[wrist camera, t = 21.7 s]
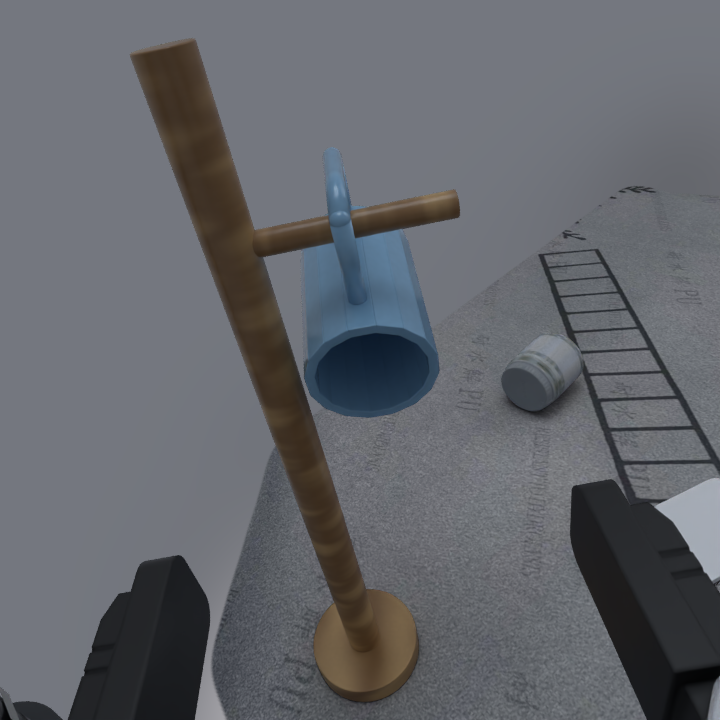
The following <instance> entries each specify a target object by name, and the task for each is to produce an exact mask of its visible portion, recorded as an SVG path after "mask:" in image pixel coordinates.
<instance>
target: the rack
mask: <svg viewBox="0 0 720 720" xmlns="http://www.w3.org/2000/svg"><path fill="white" fill-rule="evenodd" d="M130 57H131V60H132V63H133V65H134V68H135V71H136V73H137V76H138V79H139V82H140V84H141V87H142V89H143V92H144V95H145V98H146V100H147V103H148V105H149V108H150V111H151V113H152V116H153V119H154V122H155V124H156V127H157V129H158V132H159V135H160V138H161V140H162V143H163V145H164V148H165V151H166V154H167V156H168V159H169V162H170V164H171V167H172V170H173V172H174V175H175V178H176V180H177V183H178V186H179V188H180V191H181V193H182V196H183V199H184V201H185V204H186V207H187V210H188V212H189V215H190V218H191V220H192V223H193V226H194V228H195V231H196V233H197V236H198V239H199V242H200V244H201V247H202V250H203V253H204V255H205V258H206V261H207V263H208V266H209V268H210V271H211V274H212V277H213V279H214V282H215V285H216V287H217V290H218V292H219V295H220V298H221V301H222V303H223V306H224V309H225V311H226V314H227V317H228V319H229V322H230V325H231V327H232V330H233V333H234V335H235V338H236V340H237V343H238V346H239V348H240V351H241V354H242V357H243V359H244V362H245V364H246V367H247V370H248V373H249V375H250V378H251V381H252V383H253V386H254V389H255V391H256V394H257V397H258V399H259V402H260V405H261V407H262V410H263V413H264V416H265V418H266V421H267V424H268V426H269V429H270V432H271V434H272V437H273V440H274V442H275V445H276V448H277V450H278V453H279V456H280V458H281V461H282V464H283V466H284V469H285V472H286V474H287V477H288V480H289V482H290V485H291V488H292V490H293V493H294V496H295V498H296V501H297V504H298V506H299V509H300V512H301V514H302V517H303V520H304V522H305V525H306V528H307V530H308V533H309V536H310V538H311V541H312V544H313V546H314V549H315V552H316V554H317V557H318V560H319V563H320V565H321V568H322V571H323V573H324V576H325V579H326V581H327V584H328V587H329V589H330V592H331V595H332V597H333V600H334V603H333V604H332V605H331V606H330V607H329V608H328V609H327V610H326V612H325V613H324V614H323V616H322V618H321V619H320V621H319V623H318V626H317V629H316V632H315V636H314V645H313V646H314V655H315V660H316V663H317V665H318V668H319V670H320V672H321V674H322V676H323V678H324V680H325V681H326V683H327V684H328V686H329V687H330V688H331V689H332V690H333V691H335V692H336V693H337V694H338V695H340V696H342V697H344V698H346V699H349V700H353V701H357V702H370V701H376V700H380V699H382V698H385V697H387V696H389V695H391V694H392V693H394V692H395V691H397V690H398V689H399V688H400V687H401V686H402V685H403V684H404V683H405V682H406V681H407V680H408V678H409V677H410V675H411V673H412V672H413V670H414V667H415V665H416V662H417V658H418V653H419V640H418V635H417V630H416V626H415V622H414V619H413V617H412V615H411V613H410V611H409V610H408V608H407V607H406V606H405V604H404V603H403V602H402V601H400V600H399V599H398V598H397V597H395V596H393V595H391V594H389V593H387V592H384V591H380V590H374V589H366V587H365V584H364V581H363V578H362V574H361V571H360V568H359V565H358V562H357V558H356V555H355V552H354V549H353V545H352V542H351V539H350V536H349V533H348V529H347V526H346V523H345V520H344V516H343V513H342V510H341V507H340V504H339V500H338V497H337V494H336V491H335V487H334V484H333V481H332V478H331V475H330V471H329V468H328V465H327V462H326V458H325V455H324V452H323V449H322V446H321V442H320V439H319V436H318V433H317V429H316V426H315V423H314V420H313V417H312V413H311V410H310V407H309V404H308V400H307V397H306V394H305V391H304V388H303V385H302V381H301V378H300V375H299V371H298V368H297V365H296V362H295V359H294V355H293V352H292V349H291V346H290V342H289V339H288V336H287V333H286V329H285V327H284V323H283V320H282V317H281V314H280V310H279V307H278V304H277V300H276V297H275V294H274V291H273V288H272V284H271V281H270V278H269V275H268V271H267V269H266V265H265V262H264V259H263V257H266V256H271V255H276V254H281V253H286V252H290V251H296V250H301V249H306V248H311V247H316V246H321V245H326V244H331V243H334V240H333V236H332V232H331V228H330V224H329V216H328V215H326V216H322V217H317V218H312V219H307V220H302V221H297V222H292V223H287V224H282V225H278V226H273V227H268V228H263V229H258V230H254V227H253V223H252V220H251V217H250V213H249V210H248V207H247V204H246V201H245V197H244V194H243V191H242V188H241V184H240V181H239V178H238V175H237V172H236V168H235V165H234V162H233V159H232V155H231V152H230V149H229V146H228V143H227V140H226V137H225V133H224V130H223V127H222V124H221V120H220V117H219V114H218V110H217V107H216V104H215V101H214V98H213V94H212V91H211V88H210V85H209V81H208V78H207V75H206V72H205V68H204V65H203V62H202V59H201V56H200V52H199V49H198V46H197V43H196V40H195V39H192V38H191V39H184V40H179V41H174V42H170V43H165V44H161V45H157V46H153V47H149V48H145V49H142V50H138V51H135V52H133V53H131V54H130ZM350 216H351V221H352V226H353V231H354V236H355V239H356V238H360V237H365V236H370V235H375V234H380V233H385V232H390V231H395V230H400V229H405V228H409V227H415V226H420V225H425V224H430V223H435V222H440V221H444V220H450V219H455V218H458V217H459V216H460V206H459V199H458V195H457V192H456V190H454V189H453V190H449V191H444V192H439V193H434V194H429V195H424V196H419V197H414V198H409V199H405V200H400V201H395V202H390V203H385V204H380V205H375V206H370V207H365V208H361V209H356V210H351V211H350Z"/></svg>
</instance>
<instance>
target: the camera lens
mask: <svg viewBox="0 0 720 720" xmlns="http://www.w3.org/2000/svg"><path fill="white" fill-rule="evenodd" d="M582 370H583V357H582V354H581V352H580V350H579V348H578V347H577V346H576V345H575V344H574V343H573V342H572V341H571V340H570V339H569V338H567V337H565V336H563V335H561V334H557V333H544V334H541V335H539V336H538V337H537V338H536V339H535V340H534V341H532V342H531V343H530V344H529V345H528V346H527V347H526V348H525V349H524V350H523V351H521V352H520V353H519V354H518V355H517V356H516V357H515V358H514V359H513V360H512V361H511V362H510V363H509V365H508V366H507V367H506V369H505V371H504V372H503V375H502V378H501V382H502V387H503V389H504V391H505V393H506V395H507V396H508V397H509V399H510V400H511V401H512V402H514V403H515V404H516V405H517V406H519V407H520V408H523V409H525V410H529V411H539V410H542V409H543V408H545V407H547V406H549V405H550V404H551V403H552V402H554V401H555V400H556V399H557V398H558V397H559V396H560V395H561V394H562V393H563V392H564V391H565V390H566V389H567V388H568V387H569V386H570V385H571V384H572V382H573V381H574V380H575V379H576V378H577V377H578V376H579V375H580V374H581V372H582Z"/></svg>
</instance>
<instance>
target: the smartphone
mask: <svg viewBox="0 0 720 720" xmlns="http://www.w3.org/2000/svg"><path fill="white" fill-rule="evenodd" d="M654 507H655V508H656V509H657V510H659V511H660V512H661V513H663V514H664V515H665V516H666V517H668V518H669V519H670V520H671V521H673V523H674V524H675V526H676V527H677V529H678V530H679V532H680V533H681V535H682V536H683V538H684V539H685V541H686V542H687V544H688V545H689V549H690V551H691V552H693V553H694V555H695V556H696V558H697V559H698V561H699V562H700V564H701V565H702V567H703V571H704V572H705V573H707V574H708V576H709V578H710V579H711V581H712V582H713V584H714V583H716V582H717V581H719V580H720V479H719V478H712V479H709V480H707V481H705V482H703V483H701V484H699V485H697V486H695V487H693V488H691V489H689V490H686V491H684V492H682V493H680V494H678V495H676V496H674V497H672V498H670V499H668V500H666V501H664V502H662V503H660V504H658V505H656V506H654Z"/></svg>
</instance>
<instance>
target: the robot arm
mask: <svg viewBox="0 0 720 720" xmlns="http://www.w3.org/2000/svg"><path fill="white" fill-rule="evenodd" d="M570 538H571V544H572V548H573V552H574V555H575V558H576V561H577V564H578V566H579V568H580V571H581V573H582V575H583V577H584V580H585V582H586V584H587V586H588V589H589V591H590V593H591V595H592V598H593V600H594V602H595V604H596V606H597V609H598V611H599V613H600V615H601V618H602V620H603V622H604V624H605V627H606V629H607V631H608V633H609V636H610V638H611V640H612V642H613V645H614V647H615V649H616V651H617V654H618V656H619V658H620V660H621V662H622V665H623V667H624V669H625V671H626V674H627V676H628V678H629V680H630V683H631V685H632V687H633V689H634V692H635V694H636V696H637V698H638V701H639V703H640V705H641V707H642V710H643V712H644V714H645V716H646V719H647V720H720V593H719V591H718V590H717V588H716V587H715V585H714V584H713V582H712V581H711V579H710V578H709V576H708V574H707V573H705V572H704V571H703V567H702V565H701V564H700V562H699V561H698V559H697V558H696V556H695V555H694V553H693V552H691V551H690V549H689V545H688V544H687V542H686V541H685V539H684V538H683V536H682V535H681V533H680V532H679V530H678V529H677V527H676V526H675V524H674V523H673V521H671V520H670V519H669V518H668V517H666V516H665V515H664V514H663V513H661V512H660V511H659V510H657V509H656V508H655V507H654V506H652V505H651V504H650V503H649V502H645V503H639V504H633V505H630V504H629V503H628V501H627V499H626V498H625V496H624V494H623V493H622V491H621V489H620V488H619V486H618V485H617V483H616V482H615V481H614V480H612V479H609V480H604V481H598V482H592V483H587V484H581V485H576V486H573V488H572V496H571V523H570ZM209 627H210V609H209V603H208V600H207V597H206V595H205V593H204V591H203V589H202V588H201V586H200V584H199V583H198V581H197V579H196V578H195V576H194V575H193V573H192V571H191V569H190V568H189V566H188V564H187V563H186V561H185V559H184V558H183V557H182V556H179V555H177V556H171V557H166V558H160V559H155V560H149V561H144V562H143V563H141V564H140V566H139V567H138V570H137V572H136V576H135V579H134V583H133V586H132V589H131V592H126V593H120V594H118V596H117V597H116V599H115V600H114V602H113V603H112V604H111V606H110V607H109V609H108V610H107V612H106V613H105V615H104V616H103V618H102V619H101V621H100V624H99V627H98V631H97V633H96V636H95V639H94V643H93V645H92V653H90V654H89V657H88V660H87V663H86V666H85V669H84V671H85V675H84V676H83V677H82V678H81V681H80V685H79V687H78V690H77V693H76V696H75V699H74V702H73V705H72V708H71V712H70V715H69V717H68V720H195V714H196V708H197V701H198V695H199V689H200V683H201V677H202V671H203V664H204V658H205V652H206V646H207V640H208V633H209ZM0 693H1V695H2V697H1V696H0V720H30V719H29V718H27V717H25V716H24V715H23V714H21V713H20V712H18V711H17V710H16V709H15V708H14V706H13V703H12V701H11V699H10V696H9V694H8V693H7V692H5V691H4V690H3V689H2V688H1V687H0Z"/></svg>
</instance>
